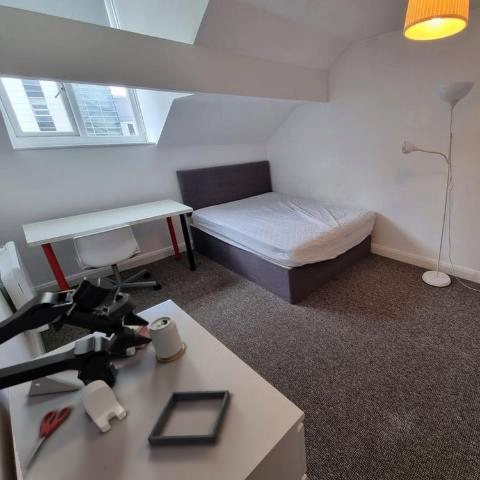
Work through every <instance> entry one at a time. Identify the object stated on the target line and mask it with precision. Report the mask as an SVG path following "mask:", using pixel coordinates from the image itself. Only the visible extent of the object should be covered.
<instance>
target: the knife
mask: <svg viewBox="0 0 480 480" xmlns="http://www.w3.org/2000/svg"><path fill="white" fill-rule="evenodd" d="M135 354H136V348H134V347H132V348H128V349H125V350H123V352H120V354H118V355H117V354H111V353H110V359H116V358H122V357H129V356H134V355H135ZM110 359H109V360H110Z"/></svg>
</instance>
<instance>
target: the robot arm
mask: <svg viewBox="0 0 480 480" xmlns="http://www.w3.org/2000/svg"><path fill="white" fill-rule="evenodd" d="M114 288H115V286H114V284H113V283H112V282H111V281H109V280H107V279H106V278H102V277H87V276H84V277H83V279H81V282H80V284H79V285H78V287H77V288H76V289H69V290H63V291H59V292H47V291H45V292H41V293H39V294H37V295H35V296H34V297H32V298H31V299H30V300H28V301H27V302H25V303H24V304H23V305H22V306H21V307H20V308H19V309H18V310H17V311H16V312H14V313H12V315H11V316H9V317H6V318H5V319H4V320H1V321H0V346H1V345H3V344H5V343H6V342H8V341H10V340H11V339H13V338H15V337H17V336H19V335H20V334H23V333H24V332H28V331H32V330H37V329H39V328H42V327H44V326H46V325H48V324H50V325H51V326H52V328H53V330H54V332H55V333H59V332H60V331H61V329H62V328H63V327H64V326H66V327H72V328H76V329H82V330H85V331H88V332H87V334H88V335H93V334H94V333H95V332H97V333H100V334H105V337H104V336H95V335H93V336H90V337H88V338H83V339H78V340H75V343H74V346H73V347H72V348H71V349H68V350H66V351H63V352H60V353H56V354H51V355H48V356H43V357H40V358H36V359H32V360H29V361H28V360H27V361H25V362H21V363H17V364H14V365H10V366H9V365H8V366H5V367H2V368H0V390H5V389H9V388H12V387H15V386H19V385H23V384H25V383H29V382H32V381H33V380H36V379H39V378H43V377H50V376H53V375H56V374H59V373H63V372H67V371H76V372H77V376H76V377H77V379H78V380H79V381H81V382H82V383H83V386H85V387H86V386H87V385H88V384H90V383H92V382H94V381H98V380H102V381H104V382H105V383H106V384H107V385H108V386H109V387H110V388H112V387H113V386H114V383H115V380H116V378H117V375H118V368H116V367H115V365H114V363H113V362H111V360H110V353H111V354H117V355H118V354H120V352H123V350H125V349H128V348H132V347H135V346H139V345H144V344H145V345H147V344H151V343H152V339H151V338H148V337H145V336H142V335H139V334H136V333H135V331H134V328H132V329H131V328H129V327H127V326H147V327H148V326H149V325H150V322H149V321H148V320H146V319H145V318H143V317H142V316H140V315H138V314H137V313H135V312H134V311H135V309H136V308H137V300H136V299H135V298H133V297H132V295H131V294H130V293H127V292H117V293H115V295H114V300H115V301H112V304H111V305H110V306H106V305H102V304H103V303H104V302H105V300H106V299H107V298H108V296H109V295H110V294H111V292H112V290H113V289H114ZM99 307H100V308H99ZM108 338H109V339H108ZM145 345H144V346H145ZM85 387H84V388H85Z"/></svg>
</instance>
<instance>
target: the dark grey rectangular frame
mask: <svg viewBox="0 0 480 480" xmlns="http://www.w3.org/2000/svg"><path fill="white" fill-rule="evenodd" d="M230 398H231V394H230V390H229V389H224V390H223V389H219V390H190V391H187V390H186V391H172V392H171V394H170V396H169V398H168V399H167V402H166V404H165V405H164V407H163V409H162V411H161V413H160V415H159V417H158V419H157V420H156V422H155V424H154V425H153V428H152V430H151V432H150V433H149V435H148V437H147V442H148V443H149V445H150V446H154V447H155V446H182V445H185V446H187V445H212V444H213V445H215V444H216V442H217V440H218V436H219V433H220V430H221V427H222V423H223V420H224V417H225V413H226V411H227V407H228V404H229V401H230ZM219 399H222V403H221V405H220V408H219V411H218V414H217V417H216V421H215V422H214V426H213V429H212V431H211V434H187V435H185V434H183V435H161V436H160V435H159V434H161V433H160V432H161V431H162V429H163V427H164V425H165V423H166V420H167V419H168V417H169V415H170V413H171V411H172V409H173V407H174V405H175V403H176V401H187V400H188V401H189V400H190V401H191V400H219Z"/></svg>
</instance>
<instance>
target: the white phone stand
mask: <svg viewBox="0 0 480 480" xmlns="http://www.w3.org/2000/svg"><path fill="white" fill-rule="evenodd" d="M79 399H80V401H81V402H82V404H83V406H84V409H85V411H86V413H87V414H88V415H89V417H90V418H91V419H92V421H93V422H94V423H95V424H96V426H97V427H98V428H99V430H100V431H101V433H106V432H107V431H109V430H110V429H111V428H112V426H111V425H110V423H109V421H110V420H111V419H113V418H114V417H116V418H117V419H118V420H119V421H122V420H123V419H124V418H125V417H126V416H127V413H126V411H125V408H124V407H122V405H121V404H120V403H119V401H118V400H117V398H116V396H115V394H114V392H113V390H112V387H109V386H108V385H107V384H106V383H105V382H104V381H102V380H98V381H94V382H92V383H90V384H88V385H87V386H86V387H83V389H82V390H81V392H80V395H79Z"/></svg>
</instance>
